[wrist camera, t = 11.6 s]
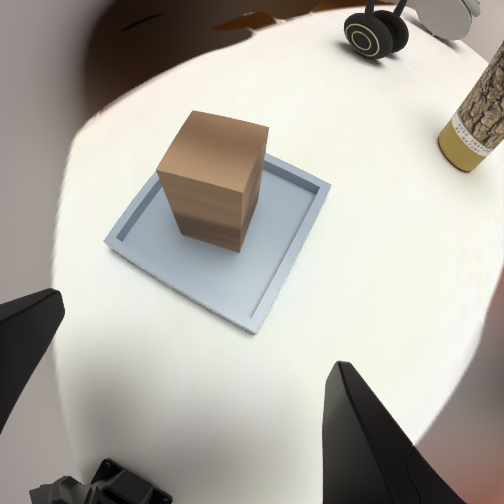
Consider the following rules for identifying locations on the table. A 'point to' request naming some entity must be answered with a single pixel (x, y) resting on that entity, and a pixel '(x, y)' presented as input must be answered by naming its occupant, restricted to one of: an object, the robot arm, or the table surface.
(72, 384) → the table surface
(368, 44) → the headphones
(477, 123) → the paper tube
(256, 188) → the walnut block
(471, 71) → the table surface
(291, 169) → the tray
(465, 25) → the alarm clock
